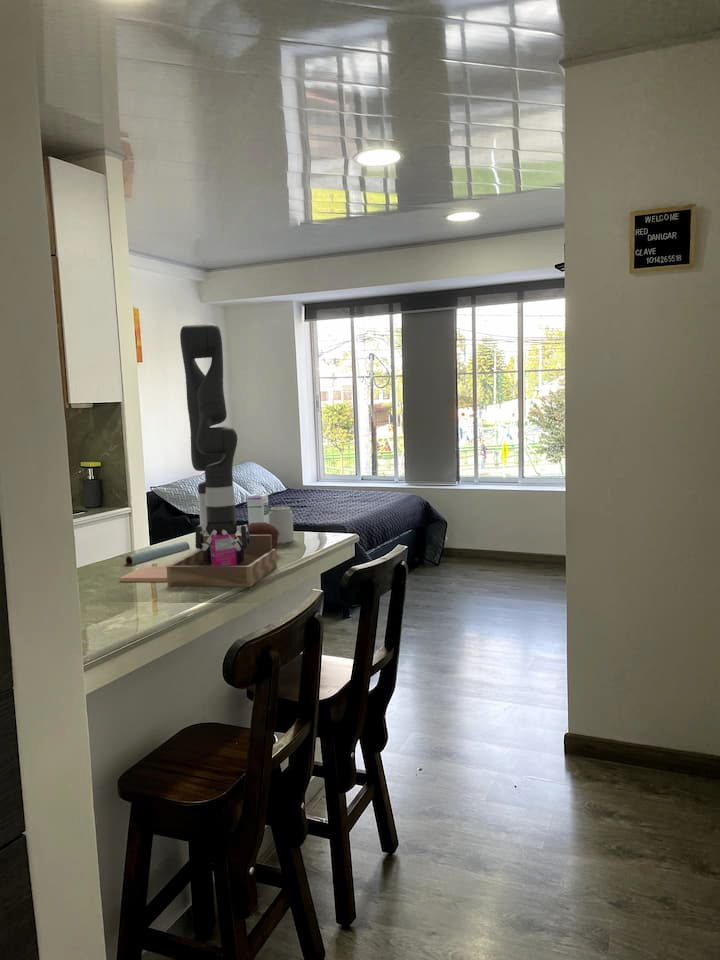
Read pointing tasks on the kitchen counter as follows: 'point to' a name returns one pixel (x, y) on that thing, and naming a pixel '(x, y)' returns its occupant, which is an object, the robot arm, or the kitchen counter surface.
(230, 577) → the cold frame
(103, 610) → the kitchen counter surface
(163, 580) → the terracotta tile
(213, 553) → the supplement box
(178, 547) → the aluminum foil
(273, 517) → the can
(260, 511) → the syrup box
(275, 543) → the muffin
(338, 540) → the kitchen counter surface
